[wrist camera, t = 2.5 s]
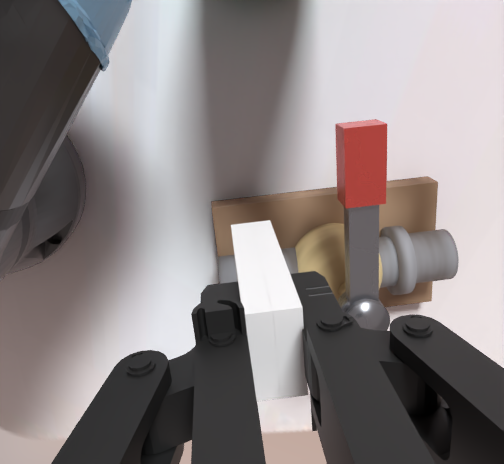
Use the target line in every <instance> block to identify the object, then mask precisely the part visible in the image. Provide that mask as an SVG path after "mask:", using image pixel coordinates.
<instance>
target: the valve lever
mask: <svg viewBox="0 0 504 464" xmlns="http://www.w3.org/2000/svg"><path fill="white" fill-rule="evenodd" d="M335 125H336V161H337V198H338V200H339V202H340V203H341V204H342V205H343V206H344V243H345V288H346V291H345V292H344V293H343V294H342V295H341V296H340V297H339V299H338V303H339V305H340V307H341V309H342V311H343V312H344V313H346V314H349V315H351V316H352V317H353V318H354V319H355V320H356V321H357V322H358V324H359V326H360V327H361V328H365V329H370V330H380V331H387V329H388V327H389V324H390V316H389V313H388V311H387V310H386V308H385V307H384V306H383V304H382V303H381V301H380V300H379V205H380V204H386V175H387V124H386V123H384V122H381V121H379V120H376V119H375V120H366V121H357V122H348V123H338V124H335Z"/></svg>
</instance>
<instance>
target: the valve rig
mask: <svg viewBox="0 0 504 464" xmlns="http://www.w3.org/2000/svg"><path fill="white" fill-rule="evenodd" d="M437 188H438V182H437V181H435V180H433V179H431V178H430V177H419V178H411V179H402V180H393V181H386V204H380V205H379V300H380V301H381V303H382V304H383V306H384V307H389V306H397V305H405V304H413V303H420V302H428V301H431V299H432V281H437V280H445V279H452V278H453V277H454V276H455V275H456V273H457V269H458V252H457V248H456V244H455V242H454V239H453V237H452V236H451V234H450V233H449V232H448V231H446V230H444V229H441V230H435V225H436V207H437ZM211 202H212V215H213V222H214V230H215V238H216V245H217V253H218V257H217V260H218V271H219V281H220V284H222V283H230V282H237V273H236V265H235V256H234V248H233V239H232V230H231V225H234V224H242V223H251V222H259V221H268V220H270V221H271V224H272V227H273V230H274V232H275V235H276V238H277V240H278V243H279V246H280V248H281V251H282V254H283V256H284V259H285V262H286V264H287V267H288V270H289V272H290V274H293V273H301V272H309V271H316V272H318V273H319V274H321V275H322V276H324V277H325V278H326V280H327V282H328V284H329V287H330V288H331V290H332V293H333V294H334V296H335V298H336V299H337V301H338V299H339V297H340V296H341V295H342V294H343V293H344V292H345V291H346V288H345V243H344V206H343V205H342V204H341V203H340V202H339V200H338V198H337V187H333V188H324V189H315V190H307V191H298V192H289V193H281V194H272V195H263V196H255V197H246V198H237V199H229V200H220V201H211Z"/></svg>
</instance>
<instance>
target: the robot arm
mask: <svg viewBox="0 0 504 464" xmlns="http://www.w3.org/2000/svg"><path fill="white" fill-rule="evenodd" d="M131 2H132V0H0V281H1V280H2V279H3V278H4V277H5V275H6V274H9V273H13V272H16V271H19V270H22V269H26V268H28V267H31V266H34V265H36V264H38V263H40V262H41V261H43V260H45V259H46V258H48V257H49V256H51V255H52V254H53V253H55V252H56V251H57V250H58V249H59V248H60V247H61V246H62V245H63V244H64V243H65V241H66V240H67V239H68V237H69V236H70V235H71V233H72V232H73V231H74V229H75V228H76V226H77V224H78V222H79V220H80V218H81V215H82V212H83V209H84V204H85V197H86V183H85V176H84V171H83V167H82V164H81V161H80V158H79V156H78V154H77V152H76V150H75V148H74V146H73V144H72V143H71V141H70V139H69V138H68V137H67V135H66V134H67V132H68V130H69V128H70V127H71V125H72V123H73V121H74V119H75V117H76V115H77V113H78V111H79V110H80V108H81V106H82V104H83V102H84V100H85V98H86V96H87V94H88V93H89V91H90V89H91V87H92V85H93V83H94V81H95V79H96V77H97V76H98V74H99V72H100V70H102V71H105V70H106V68H107V67H108V64H109V57H108V54H109V52H110V50H111V48H112V46H113V44H114V42H115V40H116V37H117V35H118V33H119V31H120V29H121V27H122V25H123V23H124V20H125V18H126V16H127V14H128V12H129V9H130V6H131ZM231 230H232V239H233V248H234V256H235V265H236V273H237V282H230V283H222V284H213V285H207V287H206V288H205V289H204V290H203V292H202V293H201V303H200V304H199V305H197V306H196V307H195V308H194V309H193V312H192V314H191V315H192V321H193V327H194V333H195V340H196V346H195V347H194V348H193V349H192V350H191V351H189V352H188V353H186V354H184V355H182V356H180V357H177V358H174V359H171V360H168V359H167V357H166V355H164V354H163V353H161V352H159V351H152V350H148V351H140V352H137V353H133V354H130V355H129V356H127V357H125V358H124V359H122V360H121V361H120V362H119V363H118V364H117V365H116V366H115V367H114V369H113V370H112V372H111V373H110V375H109V376H108V378H107V379H106V381H105V382H104V384H103V385H102V387H101V389H100V390H99V392H98V393H97V395H96V396H95V398H94V399H93V401H92V402H91V404H90V405H89V407H88V408H87V410H86V411H85V413H84V414H83V416H82V417H81V419H80V421H79V422H78V424H77V425H76V427H75V428H74V430H73V431H72V433H71V434H70V436H69V437H68V439H67V440H66V442H65V444H64V445H63V446H62V448H61V449H60V451H59V453H58V454H57V456H56V457H55V459H54V460H53V462H52V464H179V462H180V459H181V456H182V454H183V449H184V443H185V442H188V441H190V440H192V458H191V464H266V462H265V456H264V448H263V441H262V434H261V427H260V420H259V413H258V406H257V402H259V401H267V400H274V399H281V398H289V397H296V396H303V395H308V388H307V383H308V386H309V389H310V396H311V413H312V430H313V431H317V430H318V433H319V437H320V441H321V444H322V448H323V451H324V455H325V458H326V461H327V464H504V368H502V367H501V366H500V365H498V364H497V363H495V362H494V361H493V360H491V359H490V358H488V357H487V356H486V355H484V354H483V353H482V352H480V351H479V350H477V349H476V348H475V347H473V346H472V345H470V344H469V343H468V342H466V341H465V340H464V339H462V338H461V337H459V336H458V335H457V334H455V333H454V332H452V331H451V330H450V329H448V328H447V327H446V326H444V325H443V324H441V323H440V322H438V321H436V320H434V319H432V318H430V317H426V316H422V315H406V316H401V317H398V318H396V319H394V320H393V321H392V323H391V324H390V331H380V330H370V329H365V328H361V327H360V326H359V324H358V322H357V321H356V320H355V319H354V318H353V317H352V316H351V315H349V314H346V313H344V312H343V311H342V309H341V307H340V305H339V303H338V301H337V299H336V298H335V296H334V294H333V293H332V290H331V288H330V287H329V284H328V282H327V280H326V278H325V277H324V276H322V275H321V274H319V273H318V272H316V271H309V272H301V273H293V274H290V272H289V270H288V267H287V264H286V262H285V259H284V256H283V254H282V251H281V248H280V246H279V243H278V240H277V238H276V235H275V232H274V230H273V227H272V224H271V221H270V220H268V221H259V222H251V223H242V224H234V225H231Z"/></svg>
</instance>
